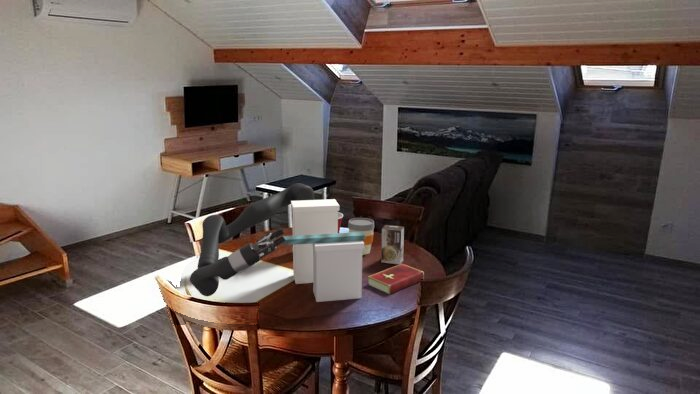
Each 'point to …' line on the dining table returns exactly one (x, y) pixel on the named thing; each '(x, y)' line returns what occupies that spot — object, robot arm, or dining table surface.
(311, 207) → the tall stand
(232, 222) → the robot arm
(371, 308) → the dining table surface
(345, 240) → the slat
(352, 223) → the reusable coffee cup
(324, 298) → the low stand
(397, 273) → the hardcover book
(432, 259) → the dining table surface
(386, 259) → the coffee box
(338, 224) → the plastic cup
